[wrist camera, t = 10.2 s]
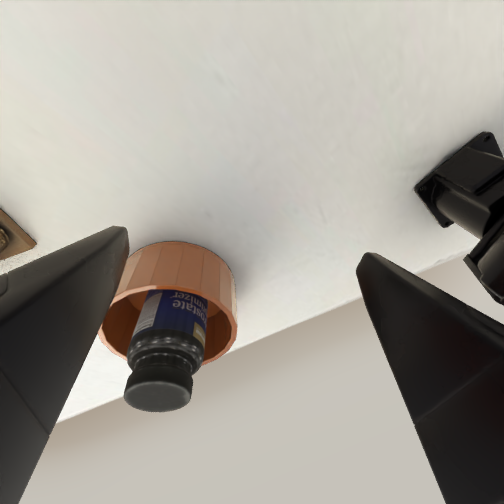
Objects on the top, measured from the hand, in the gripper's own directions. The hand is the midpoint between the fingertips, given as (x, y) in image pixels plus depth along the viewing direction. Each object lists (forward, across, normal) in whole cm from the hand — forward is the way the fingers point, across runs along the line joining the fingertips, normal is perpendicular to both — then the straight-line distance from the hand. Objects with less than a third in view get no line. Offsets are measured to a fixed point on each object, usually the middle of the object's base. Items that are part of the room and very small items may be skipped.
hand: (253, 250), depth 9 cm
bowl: (+13, +4, +15) cm, 20 cm away
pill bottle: (+12, +4, +15) cm, 20 cm away
